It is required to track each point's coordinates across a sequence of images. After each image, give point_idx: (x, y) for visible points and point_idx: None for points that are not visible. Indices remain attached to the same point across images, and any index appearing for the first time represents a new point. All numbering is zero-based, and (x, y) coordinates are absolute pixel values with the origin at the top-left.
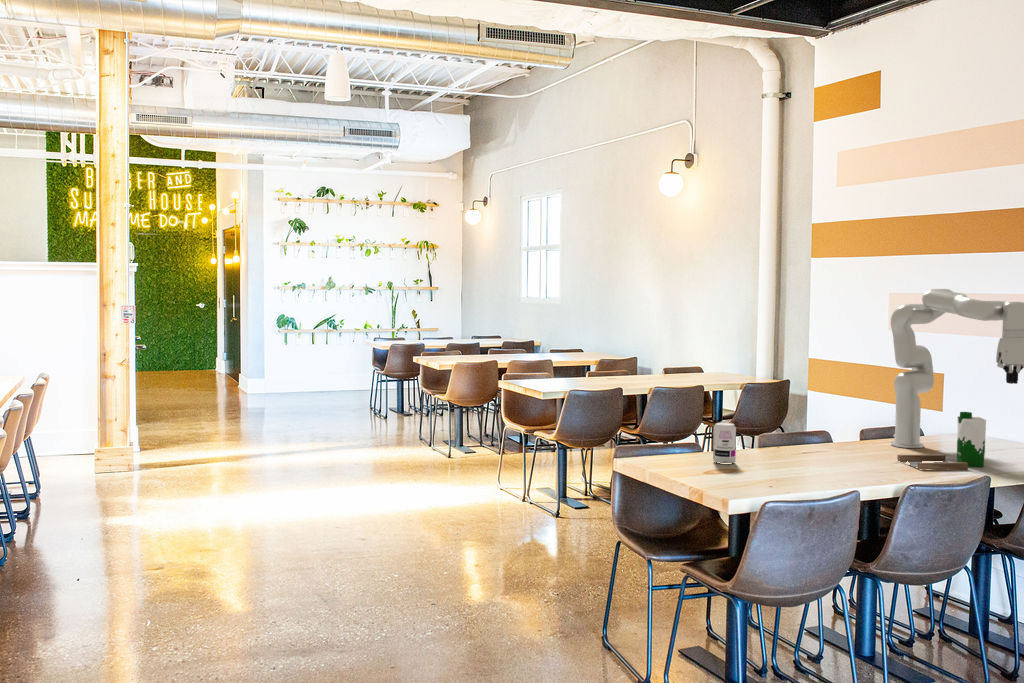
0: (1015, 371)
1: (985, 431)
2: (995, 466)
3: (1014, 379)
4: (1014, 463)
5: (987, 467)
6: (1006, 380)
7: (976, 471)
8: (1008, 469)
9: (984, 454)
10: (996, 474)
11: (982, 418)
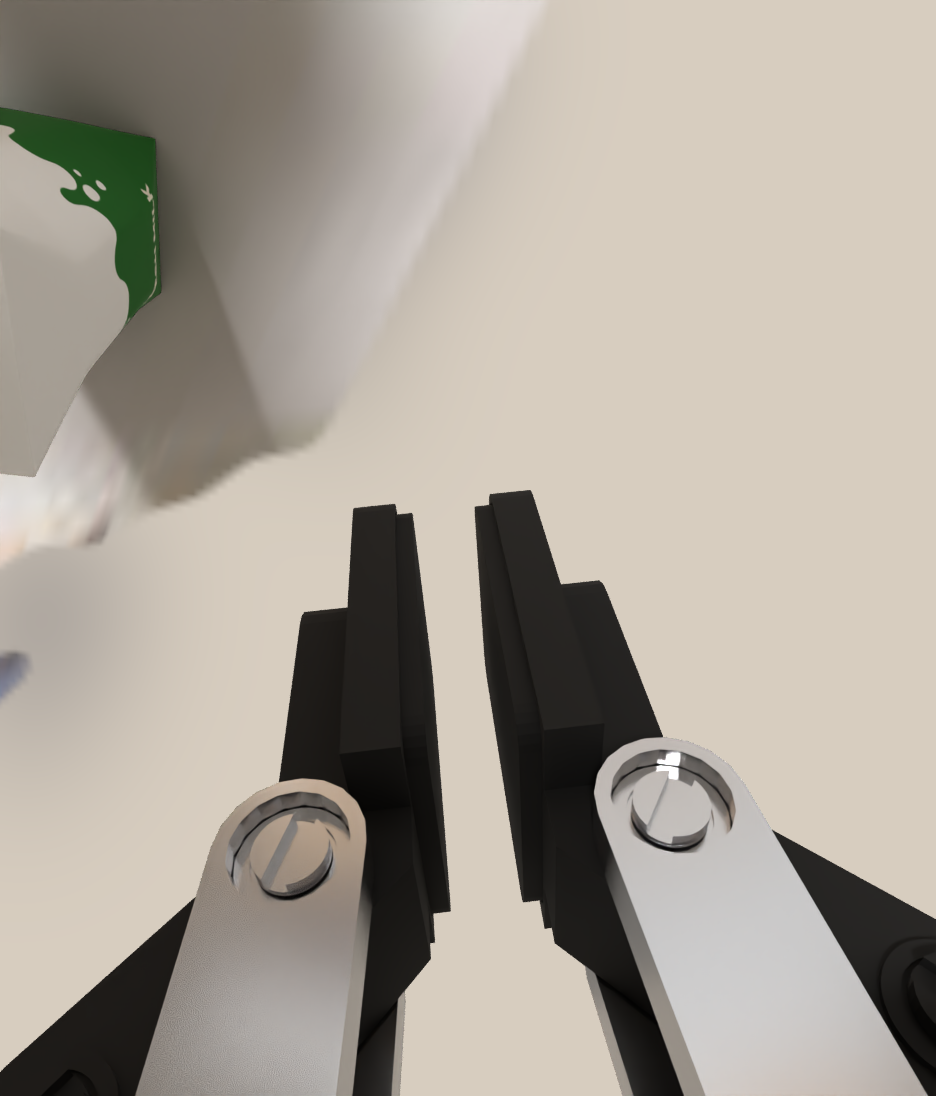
0: (566, 942)
1: (91, 367)
2: (268, 250)
3: (494, 711)
4: (479, 116)
5: (193, 290)
6: (306, 621)
7: (74, 425)
8: (319, 352)
9: (152, 293)
10: (179, 497)
11: (14, 352)
